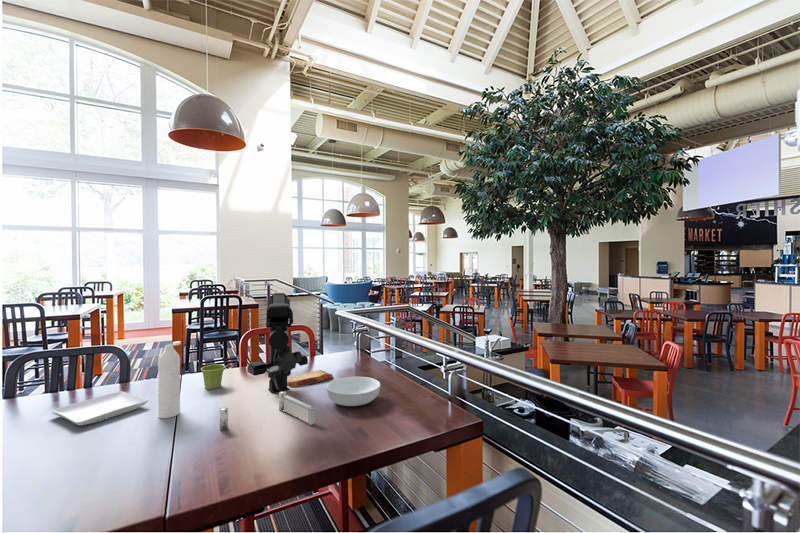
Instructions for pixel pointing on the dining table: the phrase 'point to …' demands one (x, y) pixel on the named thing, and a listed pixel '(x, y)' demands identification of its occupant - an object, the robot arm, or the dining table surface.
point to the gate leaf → (299, 409)
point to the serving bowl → (353, 390)
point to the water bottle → (169, 382)
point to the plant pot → (213, 375)
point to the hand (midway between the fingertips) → (278, 389)
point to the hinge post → (281, 400)
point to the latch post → (223, 418)
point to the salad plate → (100, 408)
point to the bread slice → (309, 378)
